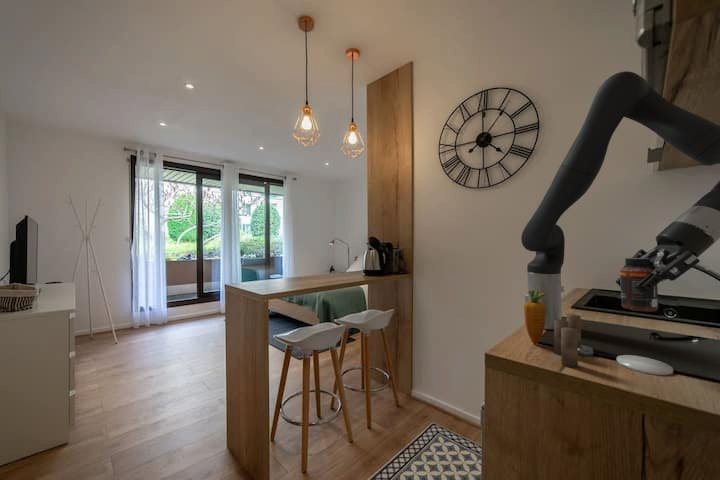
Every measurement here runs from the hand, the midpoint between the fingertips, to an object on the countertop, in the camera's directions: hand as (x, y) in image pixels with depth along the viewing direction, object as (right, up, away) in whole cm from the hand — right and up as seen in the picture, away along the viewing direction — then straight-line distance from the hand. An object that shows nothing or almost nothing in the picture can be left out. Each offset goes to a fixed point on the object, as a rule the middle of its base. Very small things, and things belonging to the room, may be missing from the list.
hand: (629, 287), depth 65 cm
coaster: (+3, -17, 0) cm, 18 cm away
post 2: (-3, -17, +12) cm, 22 cm away
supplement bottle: (+2, -5, 0) cm, 5 cm away
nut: (-5, -17, +8) cm, 20 cm away
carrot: (-13, -18, +14) cm, 26 cm away
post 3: (-13, -18, +1) cm, 22 cm away
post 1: (-10, -18, +7) cm, 21 cm away
